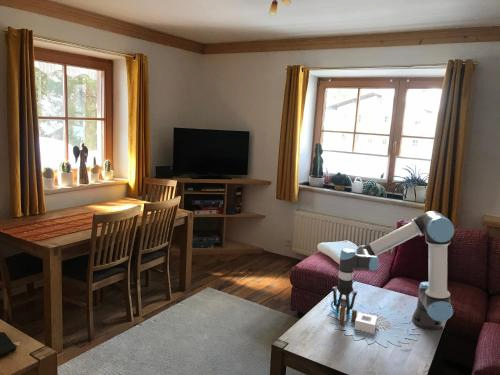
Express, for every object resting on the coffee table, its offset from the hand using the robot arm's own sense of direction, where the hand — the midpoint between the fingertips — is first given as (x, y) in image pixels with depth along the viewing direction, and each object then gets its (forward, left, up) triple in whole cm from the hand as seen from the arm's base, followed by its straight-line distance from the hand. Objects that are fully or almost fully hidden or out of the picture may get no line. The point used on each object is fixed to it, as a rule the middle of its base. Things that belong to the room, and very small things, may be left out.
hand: (342, 319), depth 215 cm
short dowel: (-5, -8, -4) cm, 10 cm away
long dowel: (0, 0, -4) cm, 4 cm away
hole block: (-12, -4, -4) cm, 13 cm away
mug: (+4, -12, -4) cm, 13 cm away
